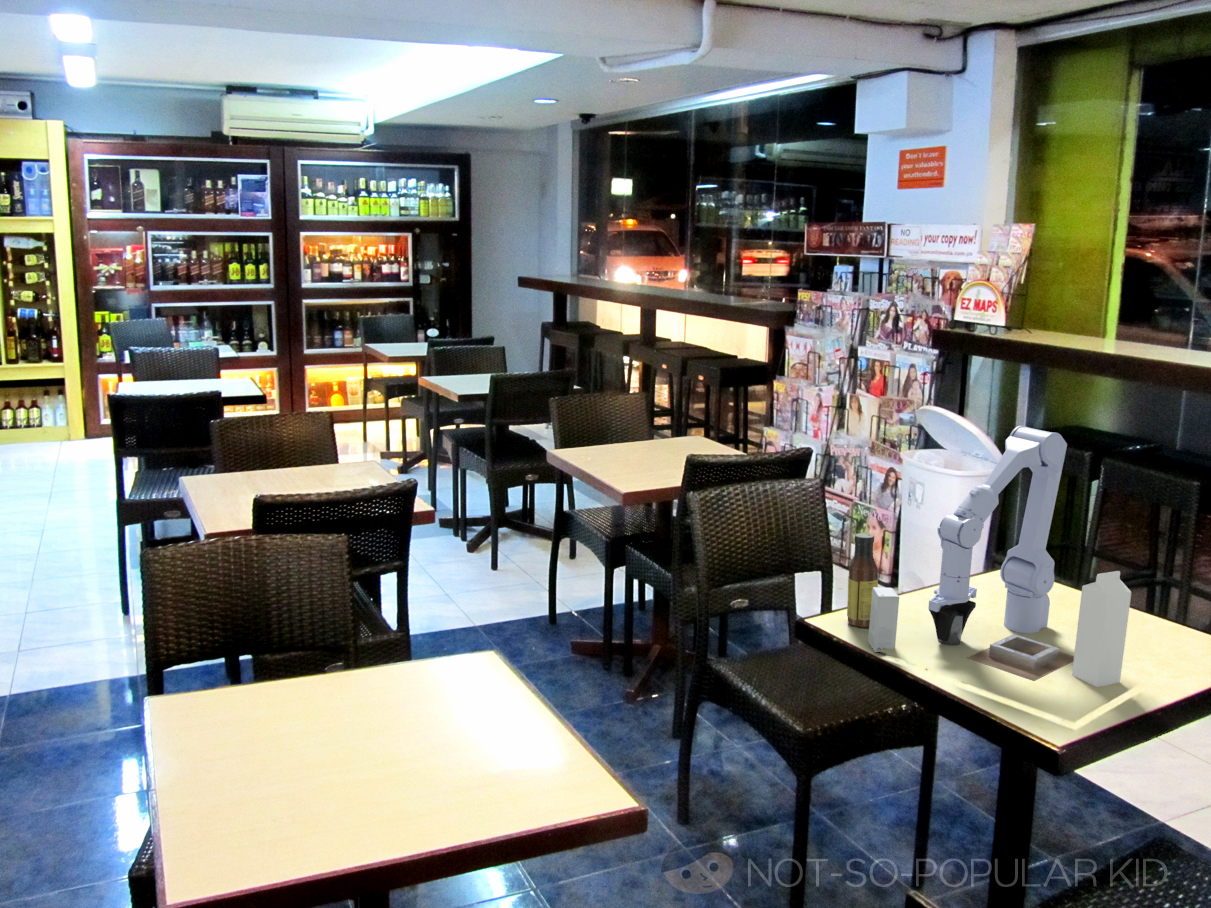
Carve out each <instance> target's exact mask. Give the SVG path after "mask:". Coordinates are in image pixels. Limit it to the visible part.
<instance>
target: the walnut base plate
mask: <svg viewBox="0 0 1211 908" xmlns="http://www.w3.org/2000/svg"><path fill="white" fill-rule="evenodd" d="M989 649H990V647H988V648H986V649H983V650H981V651H978V652H977V653H974V654H971V655H970V656H967V657H966V659H968V660H972V661H974V662H978V663H980V664H984V665H986V666H989V667H992V668H995V669H998V670H1001V671H1003V672H1007V673H1010V674H1013V675H1014V676H1015V675H1016V676H1018V677H1021V678H1024V679H1027V680H1030V681H1033V682H1034V681H1037V680H1039V679H1040V678H1043V677H1045V676H1046V675H1049V674H1050V673H1053V672H1055V671H1057V670H1059V669H1060V668H1063V667H1064V666H1065V667H1066V666H1067V665H1068V664H1070V663H1073V661H1074V655H1071V654H1068V653H1065V652H1062V651H1059V652H1058V660H1056V661H1054V662H1052V663H1050V664H1047V665H1045V666H1043V667H1041V668H1039V669H1037V670H1035V671H1032V670H1029V669H1026V668H1023V667H1020V666H1017V665H1014V664H1011V663H1008V662H1005V661H1002V660H999V659H996V658H993V657H990V656H989ZM1013 650H1015V651H1018V652H1021V653H1024V654H1028V655H1031V656H1033V655H1035V654H1032V653H1029V652H1026V651H1023V650H1019V649H1016V648H1015V649H1013Z"/></svg>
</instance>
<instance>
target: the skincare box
mask: <svg viewBox="0 0 1211 908" xmlns="http://www.w3.org/2000/svg"><path fill="white" fill-rule="evenodd" d="M899 605H900V596H899V595H898V593H897V592H896V591H895V590H894V589H893V588H892V587H883V586H882V587H879V586H878V587H873V588H872V600H871V612H870V625H869V627H868V628H869V629H868V638H867V639H868V640H867V642H868V644H869V645H871V646H870V647H871V649H872V648H873V649H872V651H873V650H874V651H875V652H874V651H873V652H874V653H876V652H881V650H895V649H896V642H897V641H896V639H897V628H898V617H899V615H898V614H899Z"/></svg>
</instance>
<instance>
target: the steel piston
mask: <svg viewBox="0 0 1211 908" xmlns="http://www.w3.org/2000/svg"><path fill="white" fill-rule="evenodd" d="M953 611H954V610H953ZM956 612H958V611H956ZM962 623H963V614H962V613H961V612H958V613H957V615H956V616H955V618H954V620H953V623H952V626H951V631H950V636H949V639H948V641H946V642H945V641H942V640H939V639H937V641H938V643H940V644H942V645H945V646H959V645H961V641H962V635H961V633H962ZM962 634H963V633H962Z"/></svg>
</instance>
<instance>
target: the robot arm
mask: <svg viewBox="0 0 1211 908" xmlns="http://www.w3.org/2000/svg"><path fill="white" fill-rule="evenodd" d="M1004 442H1005V443H1004V445H1005V451H1004V453H1003V454H1002V456H1001V457H1000V458H999V461H998V462H997V463H996V465H995V466H994V468H993V470H992V471H991V472H990V474H989V476H988V477H987V478H986V481H985V482H984V483H983V484H982V485H975V486H974V487H973V488H972V489H971V490H970V491H969V493H968V494H967V496H966V497H965V499H964V500H963V501H962V502H961V503H960V504H959V506H958V508H957V509H956V510H955V511H954V513H950V514H949V515H946V516H945V517H943V519H942V520H941V522H940V523H939V526H938V527H937V535H938V537H939V539H940V547H941V549H942V553H941V565H940V573H939V588H935V589H934V590H933V594H935V595H934V597H932V598H931V599H929V600H928V611H929V612H930V615H931V616H932V617H931V618H932V620H933V623H934V627H935V632H936V637H937V640H938V639H939V640H942V641H945V642H946V641H948V639H949V636H950V631H951V626H952V623H953V620H954V618H955V616H956V615H957V613H958V612H961V613H962V614H963V623H962V633H961V636H962V635H963V632H964V629H965V627H966V624H967V621H968V619H969V617H970V615H971V613H972V612H973V611H974V609H975V608H976V606H977V604H976V602H975V601H973V600H970V599H971V598H972V599H976V598H977V590H978V588H976V587H972V586H970V580H971V571H972V570H971V569H972V559H973V547H974V546H975V545H976V544H977V543H979V541H980V540H981V536H982V533H983V529H984V527H985V522H986V521H987V519H988V518H989V517H990V516H991V515H992V512H994V511H995V509H996V508H997V506H998V505H999V501H1000V500H999V494H1000V493H1001V492H1002V491H1003V490H1004V489H1005V488H1006V486H1008V484H1009V483H1010V482H1011V481H1012V480H1013V479H1014V477H1016V476H1017V474H1018V473H1019V472H1020V471H1021V470H1022V469H1024V468H1029V469H1030V470H1031V473H1032V474H1031V475H1032V477H1031V481H1030V486H1029V492H1028V496H1027V501H1026V506H1025V511H1024V514H1023V515H1024V516H1023V520H1022V526H1021V530H1020V535H1019V539H1018V540H1019V541H1018V544H1017V545H1015V546H1013V547H1012V548H1010V549H1008V550H1007V552H1006V556H1005V559H1004V560H1003V562H1002V565H1001V567H1000V572H999V573H1000V578H1001V581H1002V582H1003V583H1004V588H1005V589H1007V590H1006V600H1005V609H1004V620H1003V626H1004V627H1005V628H1006V629H1007V630H1010V631H1013V632H1015V633H1016V632H1017V633H1020V634H1021V633H1022V634H1035V633H1039V632H1040V631H1041V629H1043V628H1046V629H1049V630H1052V628H1051V627H1048V622H1049V614H1050V605H1051V603H1050V602H1051V601H1050V597H1049V595H1048V593H1049V592H1050V591H1051V590H1052V589H1053V587H1054V583H1055V560H1054V558H1052V557H1051V555H1050V554H1049V552H1048V551H1047V549H1046V548H1047V544H1048V540H1049V536H1050V530H1051V525H1052V520H1053V517H1054V516H1053V515H1054V510H1055V505H1056V501H1057V496H1058V492H1059V487H1060V486H1059V485H1060V481H1061V476H1062V471H1063V467H1064V462H1065V457H1066V453H1067V452H1066V451H1067V447H1068V442H1066V440H1065V439H1064V438H1063V436H1062V434H1060V433H1059V432H1052V431H1051V432H1050V431H1046V430H1041V429H1036V428H1032V427H1028V426H1026V425H1018V426H1016V427H1015V428H1013V429H1012V431H1011V432H1010V434H1009V436H1008V437H1007V438H1006V439H1005V441H1004ZM953 610H954V611H953ZM956 611H958V612H956Z"/></svg>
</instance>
